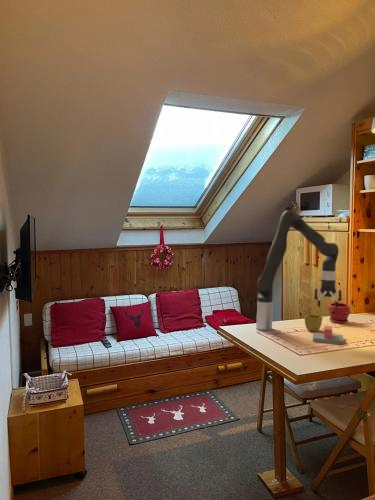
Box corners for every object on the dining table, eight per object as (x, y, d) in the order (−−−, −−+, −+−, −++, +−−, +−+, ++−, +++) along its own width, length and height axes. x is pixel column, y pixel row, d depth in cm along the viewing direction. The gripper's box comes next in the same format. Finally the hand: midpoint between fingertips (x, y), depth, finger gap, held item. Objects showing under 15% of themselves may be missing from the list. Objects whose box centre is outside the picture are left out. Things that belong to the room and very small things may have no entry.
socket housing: (324, 338, 221) (324, 329, 221) (324, 334, 229) (324, 325, 229) (331, 338, 220) (332, 329, 220) (331, 334, 228) (331, 326, 227)
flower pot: (308, 327, 251) (308, 313, 251) (322, 329, 246) (322, 315, 246) (303, 330, 244) (304, 316, 243) (318, 333, 239) (318, 318, 238)
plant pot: (324, 320, 270) (324, 303, 269) (340, 319, 274) (340, 302, 273) (336, 325, 258) (337, 306, 257) (353, 323, 262) (354, 305, 261)
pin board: (312, 341, 221) (313, 332, 221) (313, 335, 233) (313, 327, 232) (343, 344, 216) (344, 335, 216) (342, 338, 228) (342, 329, 228)
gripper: (314, 279, 222) (314, 307, 223) (342, 280, 217) (341, 309, 218) (315, 277, 229) (314, 305, 230) (341, 278, 224) (340, 307, 225)
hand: (327, 307), depth 224 cm, fingers open, 8 cm apart
